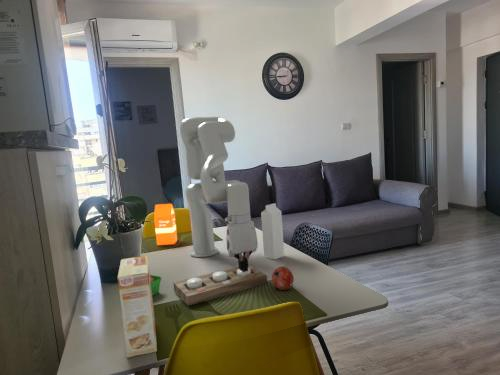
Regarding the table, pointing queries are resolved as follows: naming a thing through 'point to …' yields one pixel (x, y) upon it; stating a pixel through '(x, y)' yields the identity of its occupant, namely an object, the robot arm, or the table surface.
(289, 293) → the table surface
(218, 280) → the button middle
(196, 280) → the button end
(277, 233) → the milk
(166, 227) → the orange juice
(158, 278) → the fruit basket
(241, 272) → the button end
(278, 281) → the pomegranate
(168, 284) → the table surface
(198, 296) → the button board
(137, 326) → the coffeecake box
